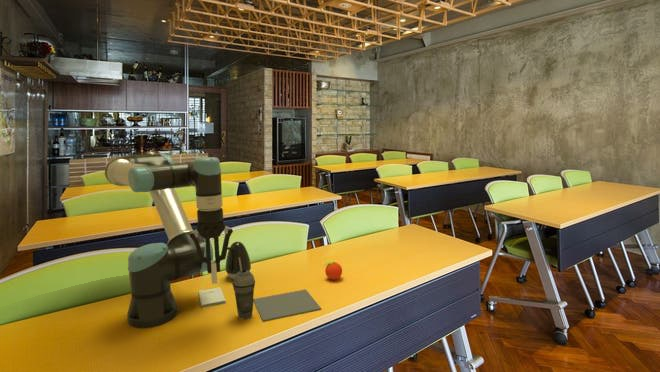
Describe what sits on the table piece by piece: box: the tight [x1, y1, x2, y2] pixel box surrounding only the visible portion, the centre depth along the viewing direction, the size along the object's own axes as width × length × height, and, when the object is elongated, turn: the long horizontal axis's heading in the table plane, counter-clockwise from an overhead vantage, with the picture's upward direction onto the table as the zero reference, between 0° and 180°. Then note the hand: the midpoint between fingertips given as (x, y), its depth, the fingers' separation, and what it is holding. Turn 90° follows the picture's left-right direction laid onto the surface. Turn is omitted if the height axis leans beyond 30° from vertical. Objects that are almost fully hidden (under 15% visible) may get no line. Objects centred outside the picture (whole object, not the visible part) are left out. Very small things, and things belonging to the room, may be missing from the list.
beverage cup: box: [232, 257, 256, 320], centre depth 121 cm, size 7×7×20 cm
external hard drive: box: [197, 286, 227, 309], centre depth 136 cm, size 2×8×12 cm
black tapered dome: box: [224, 241, 252, 280], centre depth 153 cm, size 10×10×15 cm
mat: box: [253, 289, 322, 322], centre depth 130 cm, size 20×16×1 cm
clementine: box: [323, 261, 343, 281], centre depth 151 cm, size 8×7×7 cm
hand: (214, 281), depth 117 cm, fingers closed
